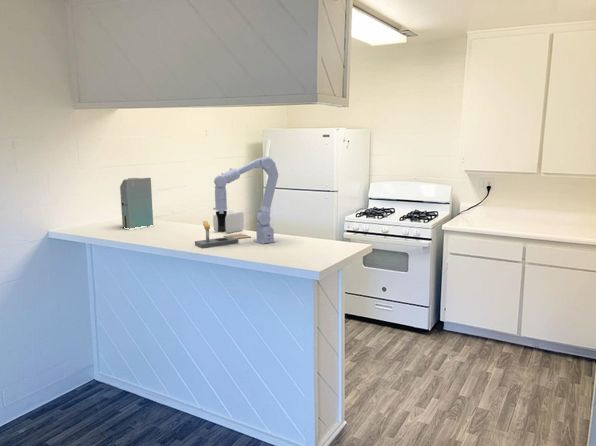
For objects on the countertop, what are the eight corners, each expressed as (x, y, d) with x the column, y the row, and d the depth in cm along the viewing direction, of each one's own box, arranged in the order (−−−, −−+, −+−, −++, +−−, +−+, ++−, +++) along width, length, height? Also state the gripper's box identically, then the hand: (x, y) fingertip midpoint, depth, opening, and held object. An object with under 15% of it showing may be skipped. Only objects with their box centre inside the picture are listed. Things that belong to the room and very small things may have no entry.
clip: (210, 229, 246) (209, 225, 245) (204, 229, 245) (204, 225, 245) (207, 224, 258) (207, 221, 258) (202, 225, 258) (202, 221, 257)
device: (146, 225, 308) (143, 177, 303) (153, 226, 303) (150, 177, 298) (122, 228, 295) (119, 178, 290) (129, 230, 290) (126, 179, 285)
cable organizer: (225, 234, 276) (225, 214, 274) (212, 232, 283) (212, 212, 281) (244, 230, 288) (243, 211, 286) (231, 228, 294) (230, 209, 292)
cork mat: (250, 237, 267) (250, 236, 267) (232, 240, 261) (232, 238, 261) (241, 234, 276) (241, 233, 276) (223, 236, 270) (223, 235, 270)
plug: (227, 231, 251) (226, 216, 250) (219, 232, 249) (219, 216, 247) (223, 230, 254) (223, 215, 253) (216, 231, 252) (216, 216, 251)
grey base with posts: (238, 243, 253) (237, 227, 251) (202, 248, 242) (201, 231, 240) (230, 240, 260) (229, 225, 259) (195, 245, 249) (194, 229, 247)
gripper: (212, 197, 255) (213, 223, 257) (212, 201, 241) (213, 228, 243) (226, 197, 256) (227, 223, 259) (227, 200, 242) (228, 227, 244)
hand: (221, 225), depth 251 cm, fingers closed on plug, 4 cm apart
